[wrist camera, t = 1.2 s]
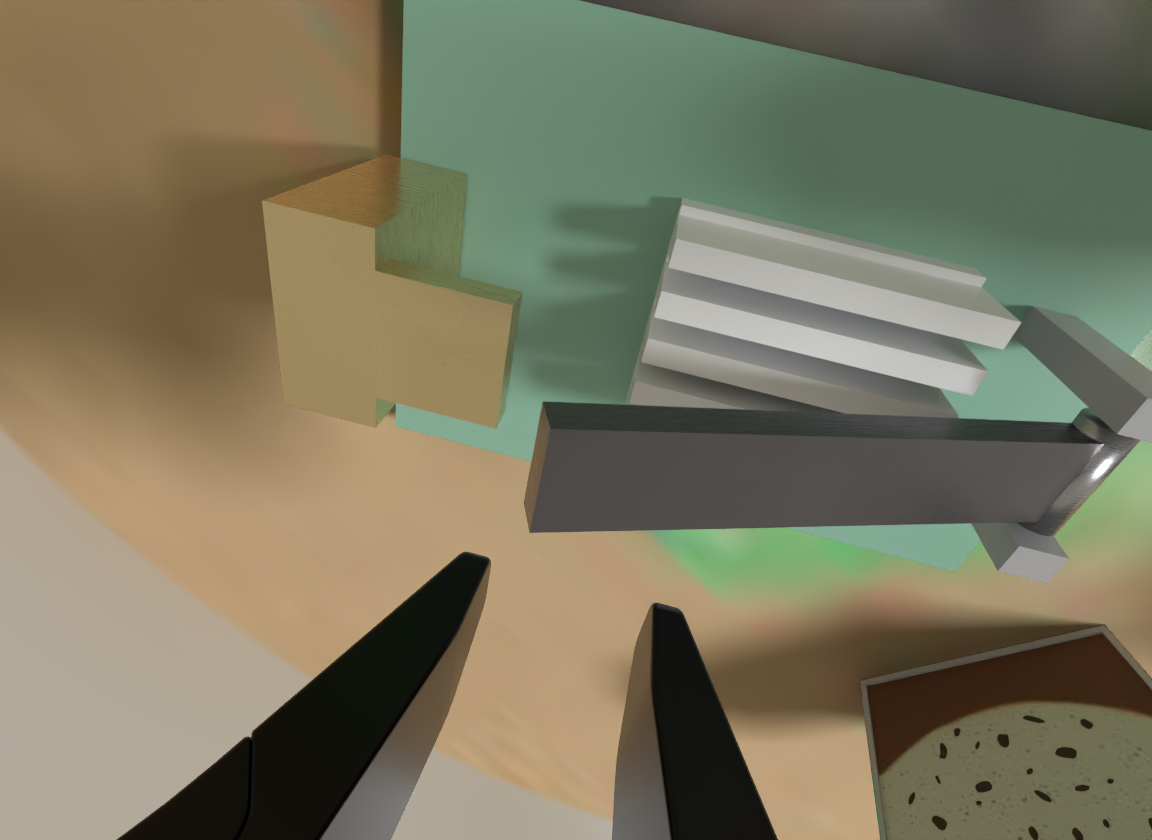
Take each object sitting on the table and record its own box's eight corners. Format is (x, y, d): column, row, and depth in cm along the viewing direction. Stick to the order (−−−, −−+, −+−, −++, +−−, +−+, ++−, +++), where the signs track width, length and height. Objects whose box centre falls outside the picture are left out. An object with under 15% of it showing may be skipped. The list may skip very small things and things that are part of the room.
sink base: (1252, 154, 14) (1546, 216, 9) (945, 551, 22) (1016, 700, 17) (420, -35, 15) (285, -71, 10) (406, 411, 23) (325, 515, 18)
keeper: (570, 198, 17) (518, 263, 12) (542, 354, 19) (492, 458, 15) (386, 153, 17) (262, 200, 12) (385, 314, 20) (283, 403, 15)
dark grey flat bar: (1106, 408, 14) (1155, 440, 13) (1029, 502, 16) (1067, 535, 15) (543, 380, 10) (556, 421, 9) (520, 506, 12) (528, 552, 11)
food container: (880, 759, 30) (950, 1040, 21) (827, 688, 27) (882, 969, 19) (1187, 707, 24) (1441, 1054, 16) (1152, 613, 22) (1424, 959, 14)
